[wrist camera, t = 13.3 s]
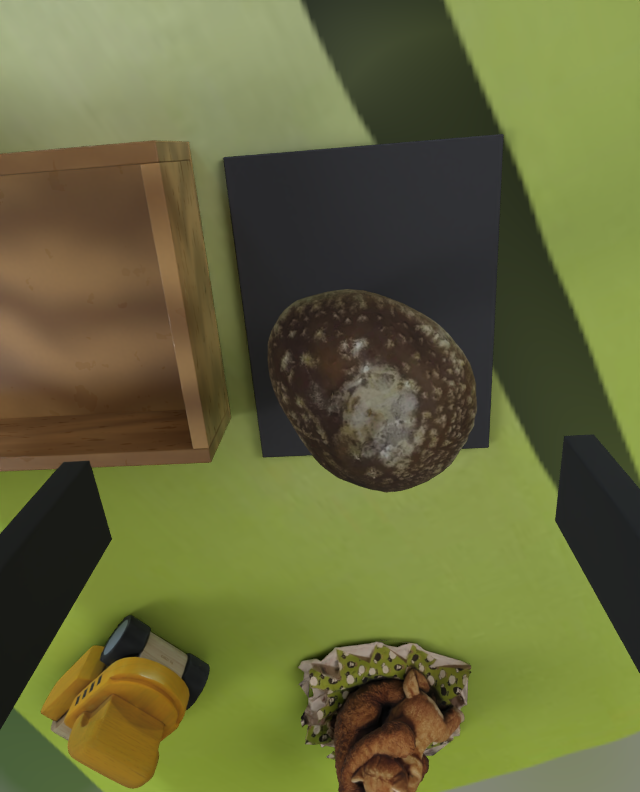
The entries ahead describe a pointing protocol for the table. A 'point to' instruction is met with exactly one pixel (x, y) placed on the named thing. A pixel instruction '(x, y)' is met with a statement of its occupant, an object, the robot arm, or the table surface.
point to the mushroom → (372, 388)
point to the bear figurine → (383, 712)
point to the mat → (370, 247)
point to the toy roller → (125, 702)
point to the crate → (106, 310)
